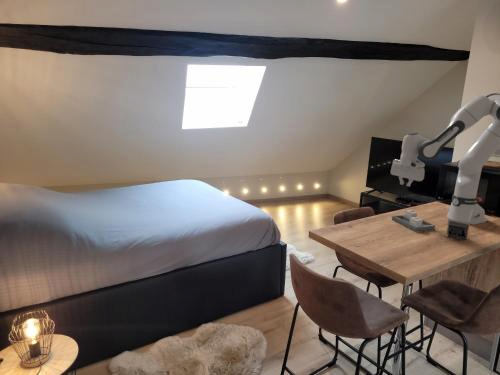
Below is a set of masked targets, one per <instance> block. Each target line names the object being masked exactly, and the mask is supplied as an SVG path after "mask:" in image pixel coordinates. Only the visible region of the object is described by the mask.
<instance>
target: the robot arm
mask: <svg viewBox="0 0 500 375" xmlns="http://www.w3.org/2000/svg"><path fill="white" fill-rule="evenodd" d="M486 116H491V117H492V121H491V123H490V124H489V125H487V127H486V128H485V129H484V131H482V133H481V134H480V135H479V137H477V139H476V140H475V141H474V142H473V143H472V144H471V146H470V147H469V148H468V150H466V152H465V153H464V154H463V156H461V158H460V159H459V160H458V162H457V164H458V166H457V167H458V174H457V177H456V181H455V187H454V192H453V194H452V196H451V197H452V198H451V204H450V207H449V210H448V212H447V214H446V218H447V219H449V220H455V221H461V222H466V223H469V224H470V225H474V226H475V225H479V224H483V223H487V222H486V221H488V222H490V219H489V218H488V217H486V216H485V215H486V212H485V209H484V208H483V207H482V206H481V205H480V204H479V203H478V202H482V198H481V197H477V194H478V189H479V188H478V187H479V184H480V183H479V182H480V179H481V175H482V170H483V167H484V165H485V164H486V163H488V161H489V160H490V158H491V157H492V156H493V155H494V154H495V153H496V152H497V150H498V149H499V148H500V93H498V92H496V93H495V92H493V93H489V94H488V95H485V96H484V95H478V96H476V97H474V98H473V99H471V100H470V101H467V103H465V104H464V105H462V106H461V107H460V108H459V109H458V110H457V111H455V113H454V114H453V115H452V116H451V117H450V122H449V123H448V125H447V127H446V128H445V129H444V130H443V131H442V132H441V133H439V134H438V135H437V136H436V137H435V138H434V139H429V138H426V137H424V136H422V135H421V134H420V133H418V132H411V133H407V134H405V135H404V137H403V140H402V145H401V154H400V159H398V158H396V159H393V160H392V165H391V169H390V175H392V176H397V177H398V179H399V185H402V186H403V185H404V184H405V181H404V179H408V182H406V187H411V184H412V183H413V182H414V181H416V182H422V181H423V180H424V179H425V170H426V169H425V165H426V163H424V162H422V161H425V162H431V161H433V160H434V161H435V159H437V157H438V156H439V155H440V153H441V151H442V149H443V148H444V147H445V146H447V145H448V144H449V143H450V142H451V141H452V140H454V139H455V138H456V137H458V136H459V135H460V134H462V133H464V132H466V131H467V130H469V129H470V128H471V127H473V126H475V125H476V124H478V123H479V122H480V121H481V120H482V119H483V118H484V117H486ZM418 156H419V158H420V159H421V160H422V161H421V160H420V159H418Z"/></svg>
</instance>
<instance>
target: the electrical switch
mask: <svg viewBox="0 0 500 375" xmlns="http://www.w3.org/2000/svg"><path fill="white" fill-rule="evenodd" d="M470 225H471V224H469V223H466V222H461V221H455V220H450V219H449V220H448V222H447V228H446V234H445V235H446V236H447V238H451V239H454V240H461V241H466V240H467V239H468V233H469V231H470V230H469V229H470Z"/></svg>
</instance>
